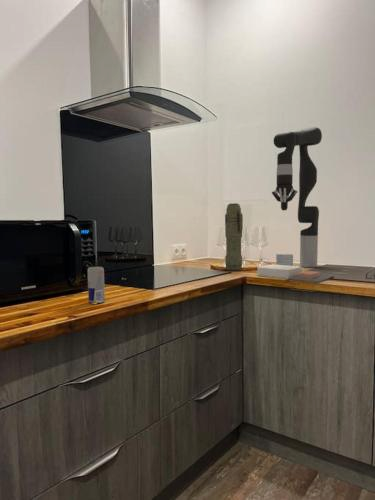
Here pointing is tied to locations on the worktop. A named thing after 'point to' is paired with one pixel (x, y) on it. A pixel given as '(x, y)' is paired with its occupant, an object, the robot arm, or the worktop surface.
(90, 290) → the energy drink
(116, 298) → the worktop surface
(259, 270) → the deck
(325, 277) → the mat
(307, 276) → the tile
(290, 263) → the medicine box
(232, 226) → the thermos
